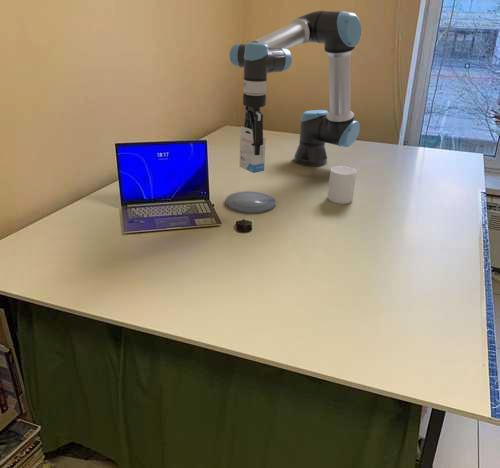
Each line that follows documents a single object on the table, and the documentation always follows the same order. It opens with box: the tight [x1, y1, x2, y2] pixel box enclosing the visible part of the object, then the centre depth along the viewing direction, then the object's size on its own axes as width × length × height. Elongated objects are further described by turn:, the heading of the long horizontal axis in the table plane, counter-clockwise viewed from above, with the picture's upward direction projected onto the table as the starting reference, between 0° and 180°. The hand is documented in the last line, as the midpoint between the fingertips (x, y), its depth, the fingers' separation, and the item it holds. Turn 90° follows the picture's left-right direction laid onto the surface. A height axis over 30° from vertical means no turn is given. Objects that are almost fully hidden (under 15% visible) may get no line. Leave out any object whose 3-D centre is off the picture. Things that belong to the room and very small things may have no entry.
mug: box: [327, 165, 357, 205], centre depth 181 cm, size 10×12×12 cm
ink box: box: [239, 125, 267, 174], centre depth 167 cm, size 8×5×15 cm, turn 39°
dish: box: [225, 190, 276, 215], centre depth 176 cm, size 18×18×1 cm
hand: (252, 159), depth 169 cm, fingers closed on ink box, 9 cm apart
